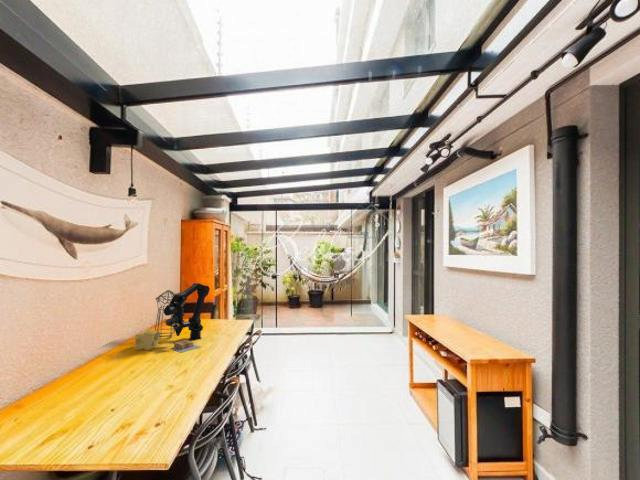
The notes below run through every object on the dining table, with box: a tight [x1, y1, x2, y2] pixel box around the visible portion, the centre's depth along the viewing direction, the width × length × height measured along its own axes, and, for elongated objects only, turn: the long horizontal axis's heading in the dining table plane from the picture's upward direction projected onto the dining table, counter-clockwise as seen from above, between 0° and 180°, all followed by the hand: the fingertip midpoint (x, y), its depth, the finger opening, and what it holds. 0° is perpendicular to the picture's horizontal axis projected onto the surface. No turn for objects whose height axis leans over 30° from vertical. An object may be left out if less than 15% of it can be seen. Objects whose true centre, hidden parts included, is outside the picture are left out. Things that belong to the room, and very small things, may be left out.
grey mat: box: [171, 344, 201, 353], centre depth 202 cm, size 14×12×1 cm
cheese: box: [134, 330, 160, 351], centre depth 202 cm, size 10×11×10 cm
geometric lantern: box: [154, 289, 177, 340], centre depth 227 cm, size 16×16×35 cm
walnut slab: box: [173, 339, 194, 350], centre depth 204 cm, size 8×3×9 cm
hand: (177, 335), depth 208 cm, fingers closed
